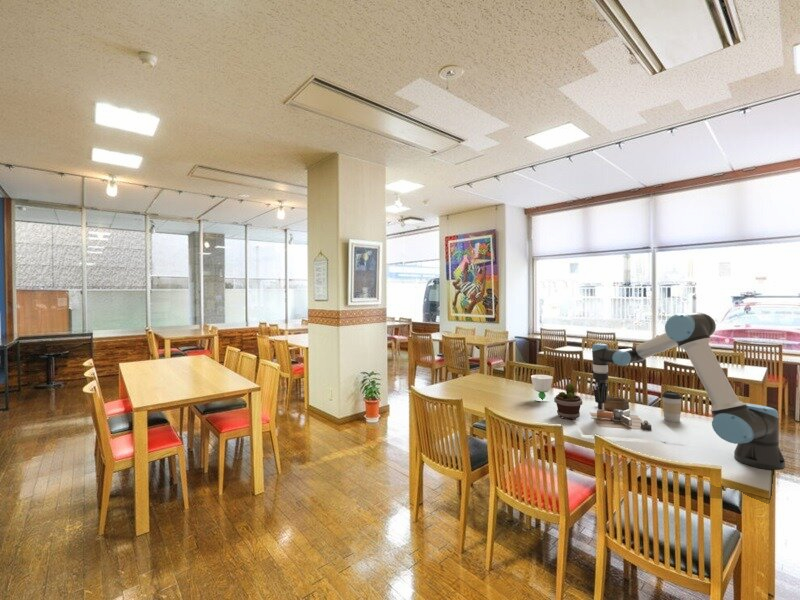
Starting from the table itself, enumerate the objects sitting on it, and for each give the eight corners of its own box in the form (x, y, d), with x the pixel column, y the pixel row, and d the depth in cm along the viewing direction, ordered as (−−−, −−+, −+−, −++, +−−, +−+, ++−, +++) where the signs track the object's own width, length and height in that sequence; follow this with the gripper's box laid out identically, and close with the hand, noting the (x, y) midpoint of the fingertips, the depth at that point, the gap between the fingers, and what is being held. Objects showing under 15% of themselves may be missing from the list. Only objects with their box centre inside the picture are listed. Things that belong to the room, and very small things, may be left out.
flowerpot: (575, 423, 205) (575, 386, 205) (549, 416, 217) (548, 381, 216) (587, 417, 214) (587, 382, 214) (561, 411, 226) (561, 377, 226)
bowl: (590, 408, 225) (592, 391, 227) (600, 410, 234) (601, 394, 236) (623, 414, 212) (624, 396, 214) (632, 416, 220) (633, 399, 222)
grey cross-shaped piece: (630, 417, 208) (629, 407, 208) (632, 427, 192) (631, 416, 192) (597, 413, 216) (597, 403, 215) (596, 423, 199) (596, 412, 199)
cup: (526, 398, 254) (526, 375, 254) (543, 396, 258) (543, 373, 258) (540, 404, 241) (539, 379, 241) (557, 402, 245) (557, 377, 245)
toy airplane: (652, 433, 188) (651, 421, 188) (596, 429, 195) (596, 418, 195) (637, 418, 211) (636, 407, 211) (587, 415, 218) (587, 405, 218)
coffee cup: (685, 422, 201) (685, 394, 201) (666, 422, 203) (666, 394, 203) (677, 417, 210) (676, 390, 210) (658, 416, 212) (658, 390, 212)
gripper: (599, 369, 215) (600, 410, 215) (587, 372, 207) (588, 415, 207) (613, 371, 208) (613, 413, 209) (601, 374, 201) (602, 418, 201)
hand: (601, 414), depth 208 cm, fingers closed
